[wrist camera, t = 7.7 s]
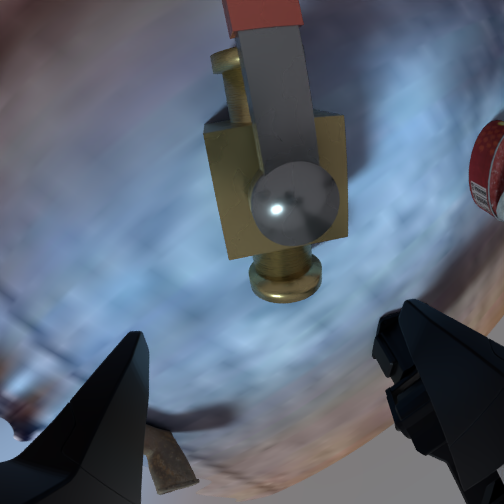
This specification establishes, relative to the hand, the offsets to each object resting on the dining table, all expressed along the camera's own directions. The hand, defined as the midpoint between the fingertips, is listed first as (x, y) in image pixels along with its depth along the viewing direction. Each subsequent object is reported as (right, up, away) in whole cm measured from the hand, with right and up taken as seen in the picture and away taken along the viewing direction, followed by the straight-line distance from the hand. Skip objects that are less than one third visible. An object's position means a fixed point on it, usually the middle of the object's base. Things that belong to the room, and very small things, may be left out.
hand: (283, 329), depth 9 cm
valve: (0, +8, +10) cm, 13 cm away
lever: (0, +9, +3) cm, 9 cm away
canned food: (+24, +11, +13) cm, 29 cm away
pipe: (-16, -20, +24) cm, 35 cm away
